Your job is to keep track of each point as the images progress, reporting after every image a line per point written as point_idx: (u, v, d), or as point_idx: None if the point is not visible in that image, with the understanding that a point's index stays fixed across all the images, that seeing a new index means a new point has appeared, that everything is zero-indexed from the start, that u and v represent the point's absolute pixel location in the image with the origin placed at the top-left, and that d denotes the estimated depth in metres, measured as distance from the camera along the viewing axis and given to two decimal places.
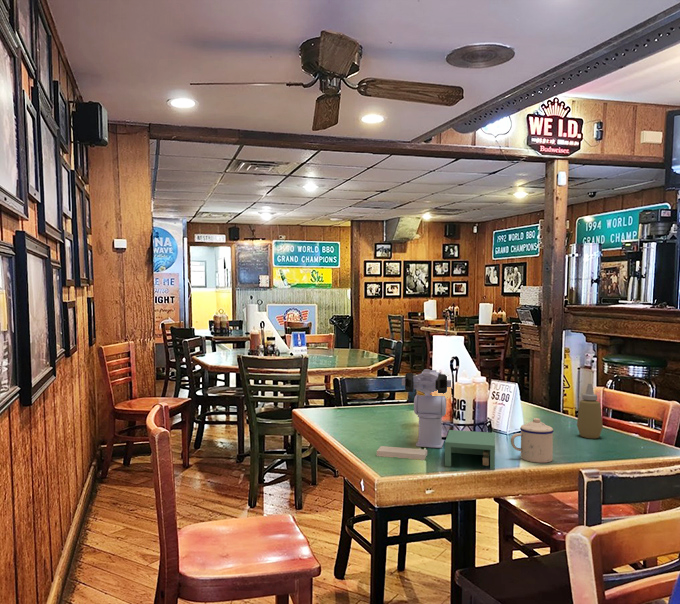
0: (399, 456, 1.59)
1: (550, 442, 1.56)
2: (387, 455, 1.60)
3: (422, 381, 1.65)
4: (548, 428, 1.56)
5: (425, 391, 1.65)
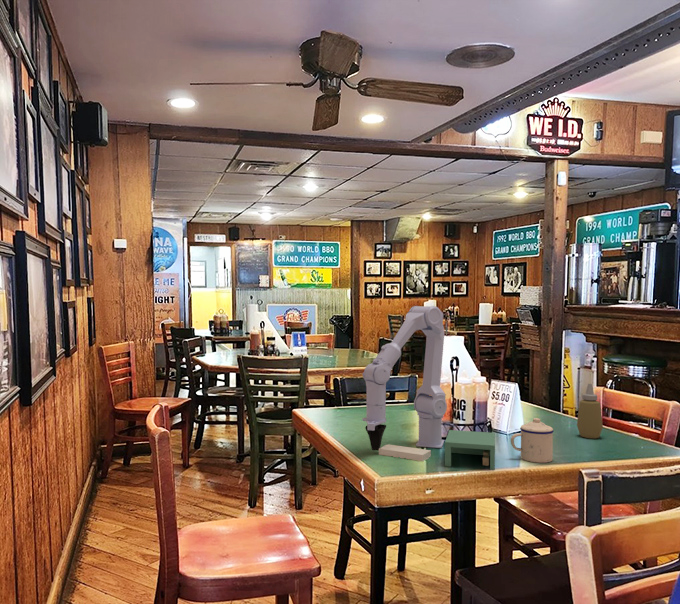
0: (399, 455, 1.59)
1: (550, 442, 1.56)
2: (388, 453, 1.61)
3: None
4: (548, 428, 1.56)
5: None
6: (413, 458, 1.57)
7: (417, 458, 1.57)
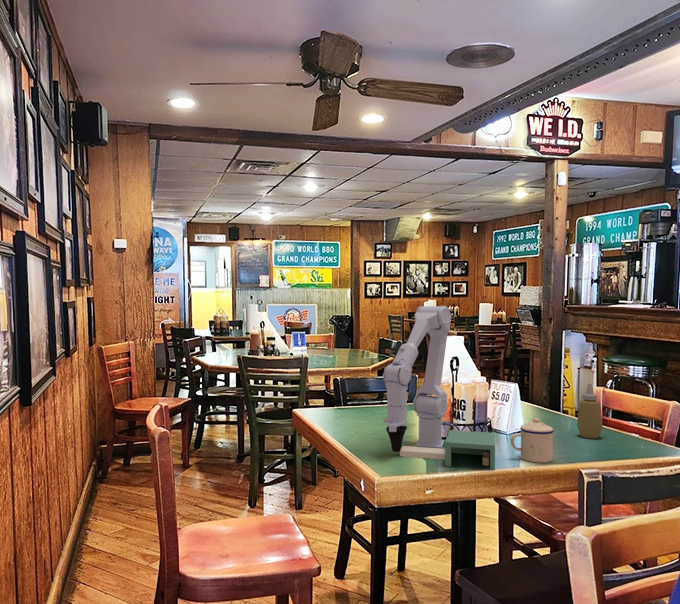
0: (423, 456, 1.59)
1: (550, 442, 1.56)
2: (411, 455, 1.60)
3: None
4: (548, 428, 1.56)
5: None
6: (438, 458, 1.58)
7: (442, 457, 1.58)
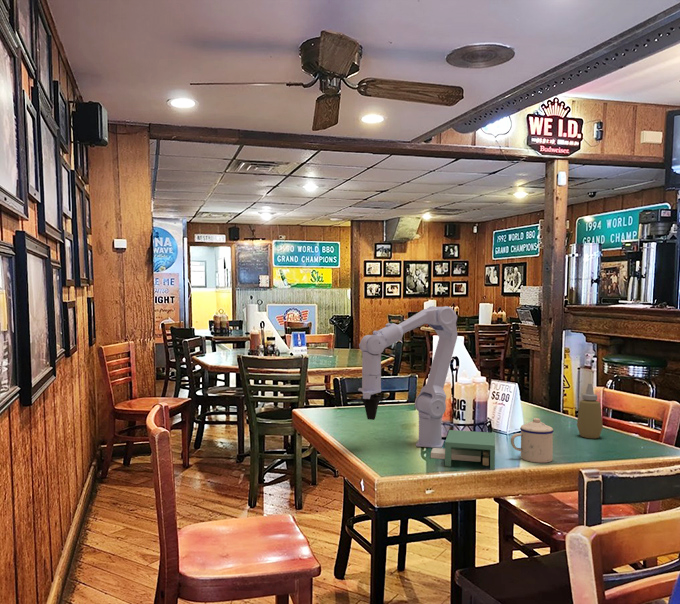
0: (454, 458, 1.58)
1: (550, 442, 1.56)
2: (442, 457, 1.59)
3: None
4: (548, 428, 1.56)
5: (379, 391, 1.67)
6: (469, 460, 1.57)
7: (474, 460, 1.56)
